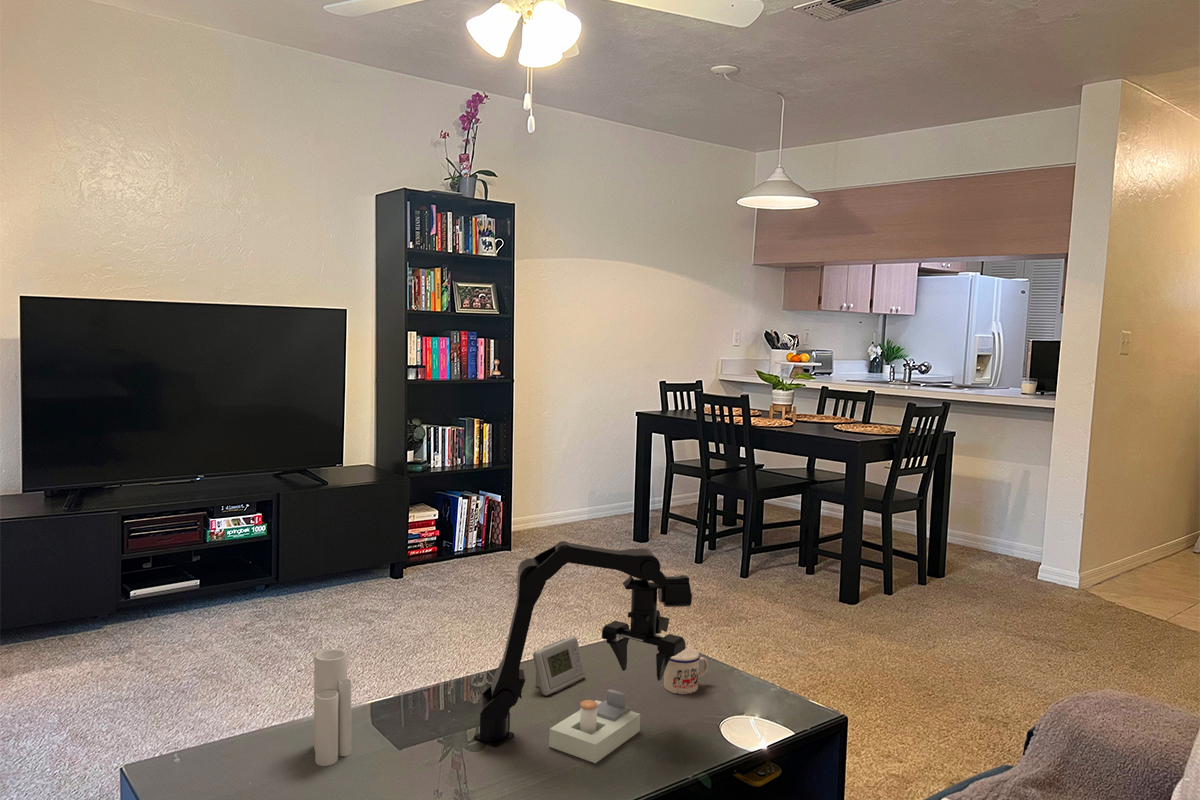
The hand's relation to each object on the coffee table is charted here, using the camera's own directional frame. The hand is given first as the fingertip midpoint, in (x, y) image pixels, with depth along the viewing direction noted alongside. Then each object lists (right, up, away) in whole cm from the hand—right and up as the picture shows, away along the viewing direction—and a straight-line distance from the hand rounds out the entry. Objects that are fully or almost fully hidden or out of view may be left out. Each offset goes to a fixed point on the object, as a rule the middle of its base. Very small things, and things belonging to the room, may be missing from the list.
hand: (641, 675), depth 191 cm
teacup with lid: (+13, -12, +26) cm, 31 cm away
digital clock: (-20, -11, +25) cm, 34 cm away
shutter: (-7, -9, +1) cm, 11 cm away
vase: (-66, -12, -12) cm, 68 cm away
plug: (-12, -13, -6) cm, 19 cm away
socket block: (-10, -13, -3) cm, 17 cm away
